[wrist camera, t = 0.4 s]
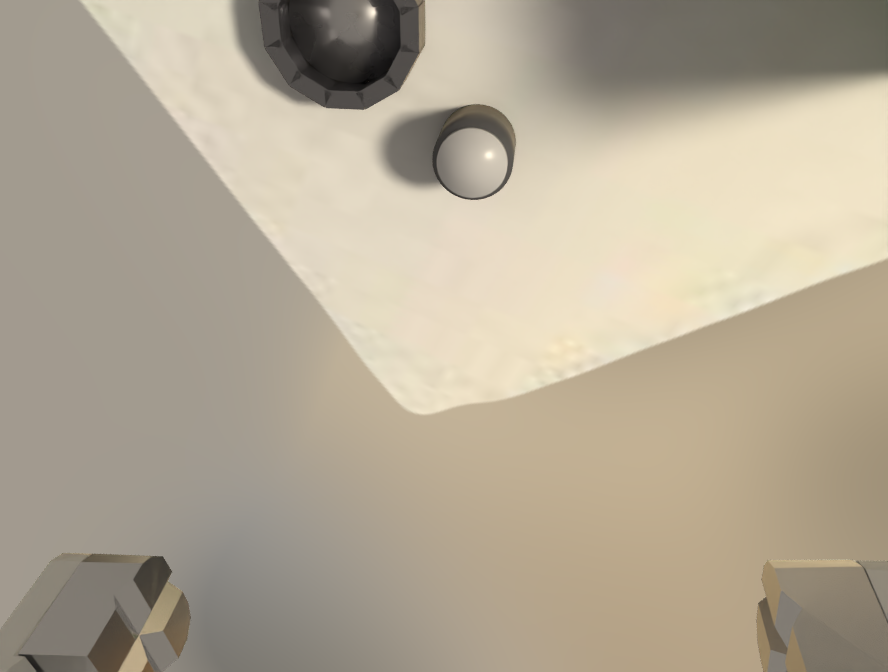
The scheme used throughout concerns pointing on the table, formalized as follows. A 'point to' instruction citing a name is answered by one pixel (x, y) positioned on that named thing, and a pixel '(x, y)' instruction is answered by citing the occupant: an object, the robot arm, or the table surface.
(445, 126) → the cap
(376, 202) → the table surface
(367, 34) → the grey ashtray
